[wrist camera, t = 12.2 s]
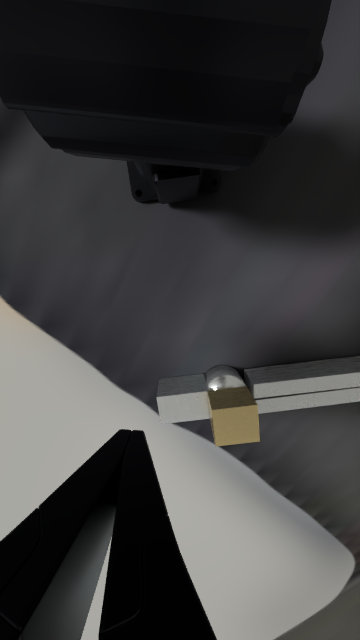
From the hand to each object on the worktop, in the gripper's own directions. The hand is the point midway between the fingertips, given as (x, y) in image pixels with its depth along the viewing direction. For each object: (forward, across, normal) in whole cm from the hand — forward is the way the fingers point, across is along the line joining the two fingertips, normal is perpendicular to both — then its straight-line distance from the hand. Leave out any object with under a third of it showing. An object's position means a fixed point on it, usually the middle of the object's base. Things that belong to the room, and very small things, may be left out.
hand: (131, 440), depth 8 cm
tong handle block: (+12, -4, +4) cm, 13 cm away
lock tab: (+9, -6, +4) cm, 11 cm away
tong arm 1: (+12, -15, +1) cm, 19 cm away
